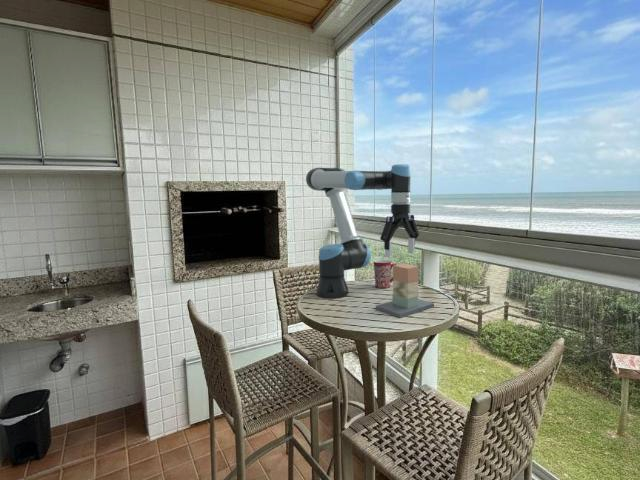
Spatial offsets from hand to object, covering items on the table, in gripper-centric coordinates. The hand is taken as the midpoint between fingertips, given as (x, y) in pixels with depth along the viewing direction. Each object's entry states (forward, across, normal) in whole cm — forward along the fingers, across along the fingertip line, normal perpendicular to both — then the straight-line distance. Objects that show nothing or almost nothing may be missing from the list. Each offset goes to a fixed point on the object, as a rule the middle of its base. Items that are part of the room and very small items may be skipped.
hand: (400, 255), depth 137 cm
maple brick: (+15, -2, -5) cm, 16 cm away
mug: (+22, +16, +24) cm, 36 cm away
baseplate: (+21, -2, -5) cm, 21 cm away
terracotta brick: (+9, -2, -5) cm, 11 cm away
